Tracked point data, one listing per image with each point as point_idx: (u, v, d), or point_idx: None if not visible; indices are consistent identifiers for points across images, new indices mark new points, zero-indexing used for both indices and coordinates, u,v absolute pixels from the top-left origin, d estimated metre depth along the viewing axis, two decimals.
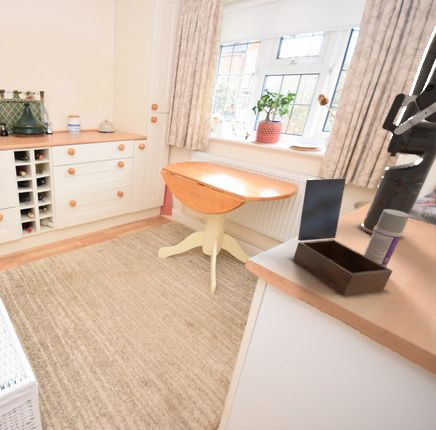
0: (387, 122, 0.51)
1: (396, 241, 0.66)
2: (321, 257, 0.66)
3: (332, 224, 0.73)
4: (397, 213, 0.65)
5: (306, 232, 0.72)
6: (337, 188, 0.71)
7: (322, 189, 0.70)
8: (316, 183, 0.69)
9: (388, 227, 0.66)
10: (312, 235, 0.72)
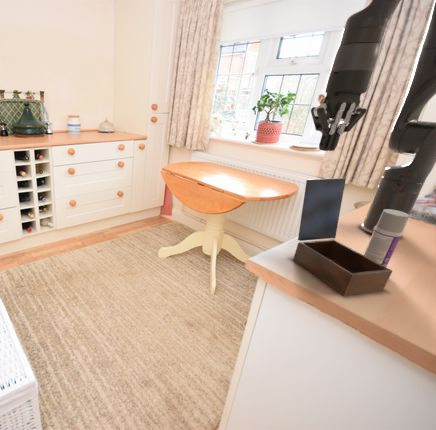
0: (327, 126, 0.65)
1: (396, 241, 0.66)
2: (321, 257, 0.66)
3: (332, 224, 0.73)
4: (397, 213, 0.65)
5: (306, 232, 0.72)
6: (337, 188, 0.71)
7: (322, 189, 0.70)
8: (316, 183, 0.69)
9: (388, 227, 0.66)
10: (312, 235, 0.72)
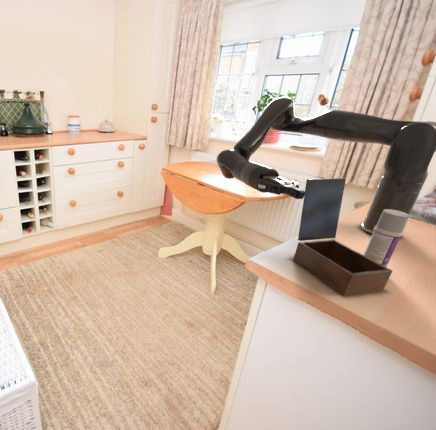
0: (278, 184, 0.79)
1: (396, 241, 0.66)
2: (321, 257, 0.66)
3: (332, 224, 0.73)
4: (397, 213, 0.65)
5: (306, 232, 0.72)
6: (337, 188, 0.71)
7: (322, 189, 0.70)
8: (316, 183, 0.69)
9: (388, 227, 0.66)
10: (312, 235, 0.72)
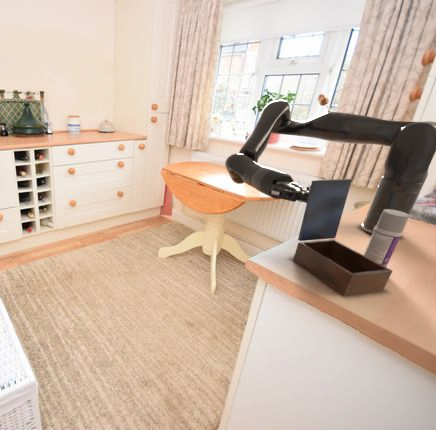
0: (293, 191, 0.74)
1: (396, 241, 0.66)
2: (321, 257, 0.66)
3: (333, 225, 0.72)
4: (397, 213, 0.65)
5: (307, 232, 0.71)
6: (342, 189, 0.69)
7: (326, 191, 0.69)
8: (321, 184, 0.68)
9: (388, 227, 0.66)
10: (312, 235, 0.72)
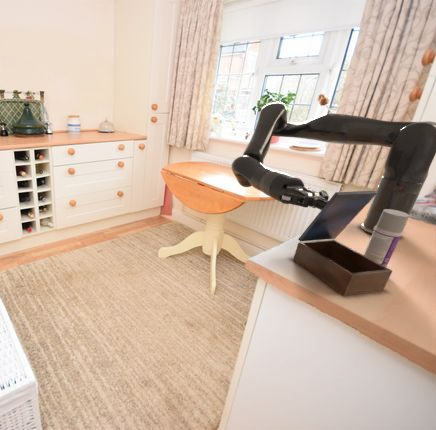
0: (305, 196, 0.71)
1: (396, 241, 0.66)
2: (321, 257, 0.66)
3: (338, 229, 0.71)
4: (397, 213, 0.65)
5: (309, 235, 0.71)
6: (362, 201, 0.65)
7: (346, 202, 0.64)
8: (343, 197, 0.63)
9: (388, 227, 0.66)
10: (314, 237, 0.72)
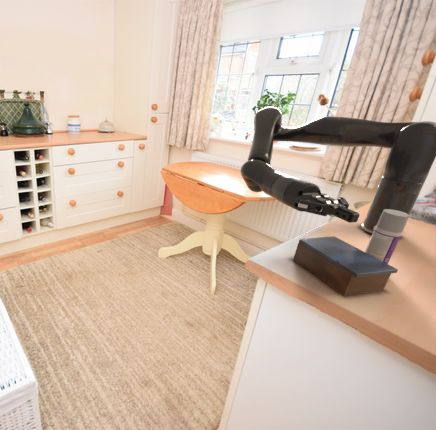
0: (324, 204, 0.66)
1: (396, 241, 0.66)
2: (321, 257, 0.66)
3: None
4: (397, 213, 0.65)
5: None
6: None
7: None
8: None
9: (388, 227, 0.66)
10: None
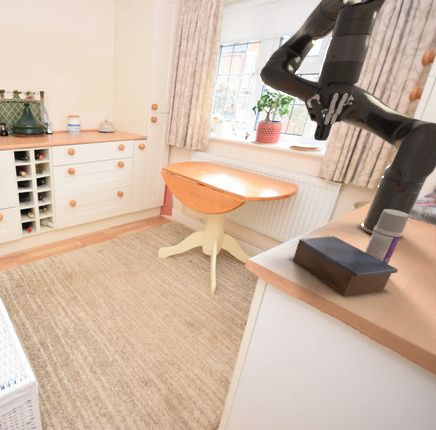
0: None
1: (396, 241, 0.66)
2: (321, 257, 0.66)
3: None
4: (397, 213, 0.65)
5: None
6: None
7: None
8: None
9: (388, 227, 0.66)
10: None
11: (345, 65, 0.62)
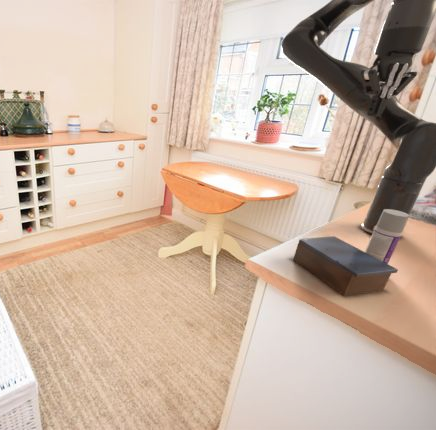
0: None
1: (396, 241, 0.66)
2: (321, 257, 0.66)
3: None
4: (397, 213, 0.65)
5: None
6: None
7: None
8: None
9: (388, 227, 0.66)
10: None
11: (410, 31, 0.58)
